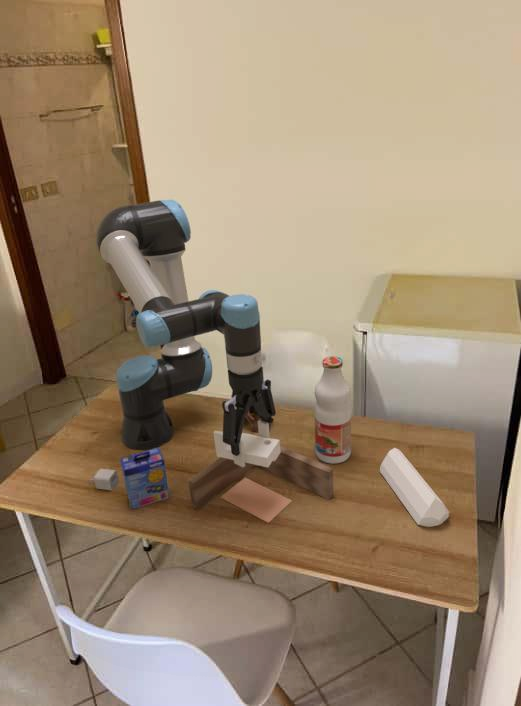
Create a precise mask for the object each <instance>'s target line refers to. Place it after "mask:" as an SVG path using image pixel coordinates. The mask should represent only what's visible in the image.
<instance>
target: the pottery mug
mask: <svg viewBox="0 0 521 706" xmlns="http://www.w3.org/2000/svg"><path fill="white" fill-rule="evenodd" d="M239 408H241V407H239ZM241 409H244V408H241ZM252 415H257V416H259V415H258V414H257V412H256V410H255V408H254V406H253V405H251V407H250V408H249V411H248V414H246V416H245V420H247V421H248V422H249V423H250V424H251V425H252V427H250V428H251V431H252V432H258V421H259V420H262V419H260V418H259V419H257V421H255V417H254V416H252Z"/></svg>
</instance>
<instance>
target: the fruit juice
mask: <svg viewBox="0 0 521 706" xmlns="http://www.w3.org/2000/svg"><path fill="white" fill-rule="evenodd" d="M343 364H344V363H343V359H342V358H341V357H339V356H332V355H331V356H327V357H325V358H323V359H322V368H323V372H322V375H321V377H320V379H319V380H318V381H317V383H316V385H315V387H314V397H315V398H314V399H316V402H315V405H314V444H315V445H314V451H315V455H316V457H317V458H318V459H319V460H320V461H321V462H324V463H326V464H332V465H333V464H334V465H335V464H340V463H344V462H346V461H347V460H348V459H349V458H350V456H351V453H352V406H351V403H350V399H351V396H352V395H351V394H352V390H351V385H350V384H349V383H348V381H347V380H345V377H344V376H343V371H342V368H343Z"/></svg>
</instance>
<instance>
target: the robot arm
mask: <svg viewBox="0 0 521 706" xmlns="http://www.w3.org/2000/svg"><path fill="white" fill-rule="evenodd" d="M189 222H190V221H189V219H188V216H187V214H186V212H185V210H184V208H183V207H182V206H181V204H180V203H179V202H178V201H176V200H174V199H163V200H162V199H159V200H154V201H153V200H152V201H147V202H141V203H138V204H132V205H122V206H119V207H116V208H114V209H112V210H111V211H109V212H108V213H107V214H106V215H105V216H104V217H103V218H102V220H101V222H100V223H99V225H98V228H97V231H96V237H95V241H96V242H95V243H96V247H97V250H98V253H99V254H100V256H101V257H102V259H103V260H104V262H106V263H108V264H110V265H111V267H112V268H113V271H115V274H116V276H117V277H118V279H119V280H120V282H121V284H122V286H123V287H124V289H125V290H126V293H127V294H128V296H129V298H130V300H131V302H132V303H133V305H134V306H135V308H136V310H137V311H138V314H137V315H136V317H135V324H136V329H137V333H138V336H139V339H140V341H141V342H142V344H143V345H144V346H145V347H148V348H151V347H157V346H163V347H162V348H161V349H160V354H161V358H158V359H157V358H155V356H153V355H147V354H146V355H145V356H144V355H137V356H135V357H133V358H130V359H128V360H126V361H124V362H123V363H121V365H120V366H119V367H118V369H117V370H116V375H115V376H116V377H115V378H116V388H117V390H118V395H119V400H120V404H121V409H122V415H123V418H122V425H121V426H122V427H121V430H120V437H121V440H122V443H123V445H125V447H127V448H129V449H131V450H138V451H139V450H151V449H154V448H159V447H160V446H162V445H165V444H166V443H167V442H169V441H170V440H171V439H172V437H173V436H174V434H175V426H174V422H173V420H172V419H171V417H170V415H169V414H168V411H167V410H166V408H165V404H164V401H165V400H169V399H172V398H175V397H178V396H181V395H185V394H189V393H192V392H197V391H198V390H200V389H203V388H207V386H208V385H210V383H211V381H212V377H213V364H212V359H211V358H210V357H211V355H210V353H209V351H208V349H206V348H205V347H202V343H201V342H200V341H198V340H196V338H195V337H196V336H200V335H203V334H207V333H210V332H214V331H218V332H219V333H220V334H222V335H223V339H224V344H225V356H226V358H225V359H226V368H227V376H228V384H229V386H230V388H231V391H232V393H231V398H230V399H229V400H228V401H225V400H223V401H222V403H221V405H222V410H223V419H222V421H223V422H222V432H223V442H224V443H226V444H228V445H231V453H232V454H233V457H234V463H235V464H237V465H239V466H241V467H244V466H245V457H244V446H243V442H242V441H240V440H241V435H242V433H243V430H244V425H245V421H246V417H245V416H246V414H248V411H249V408H250V407H251V405H253V406H254V408H255V410H256V412H257V414H258V415H257V416H258V418H259V419H258V420H259V421H258V420H257V422H258V431H257V432H258V436H262V437H267V438H271V437H270V435H271V434H270V432H271V424H273V422H274V420H275V419H274V418H273V417H275V416H276V414H277V413H276V407H275V402H274V399H273V397H274V396H273V393H272V380H271V379H268V378H264V367H263V366H262V365H263V355H262V339H261V321H260V320H261V319H260V318H261V314H260V311H259V304H258V303H259V302H258V300H257V298H255V297H254V296H252V295H247V294H242V293H241V294H239V293H238V294H231V295H228V294H227V293H225V292H222V291H219V290H217V289H209V290H206V291H204V292H203V293H202V294H201V295H200V296H199V297H198V298H197V299H194V300H189V296H188V290H187V283H186V279H185V272H184V267H183V266H184V265H183V259H182V256H183V255H184V253H185V252H186V244H185V243H188V242H190V240H191V238H192V237H191V234H192V233H191V226H190V223H189ZM148 262H149V263H148ZM239 407H241V408H244V409H241V408H239ZM260 419H262V420H260Z"/></svg>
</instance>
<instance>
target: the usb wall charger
mask: <svg viewBox="0 0 521 706" xmlns="http://www.w3.org/2000/svg"><path fill="white" fill-rule="evenodd" d="M91 476H92V477H93V478H87V481H88V482H90V483H94V484H95V488H96V489H97V490H106V491H114V489H115V488H116V486H118V484H119V481H120V479H119V475H118V471H117V470H116V469H115V470H114V469H106V468H100V469H99V470H98V471H97V472H96V473H92V474H91Z"/></svg>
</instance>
